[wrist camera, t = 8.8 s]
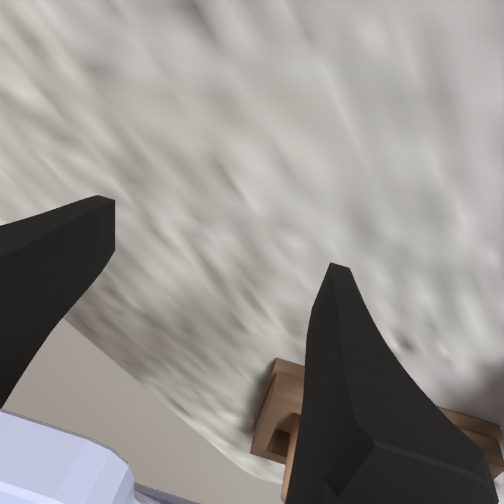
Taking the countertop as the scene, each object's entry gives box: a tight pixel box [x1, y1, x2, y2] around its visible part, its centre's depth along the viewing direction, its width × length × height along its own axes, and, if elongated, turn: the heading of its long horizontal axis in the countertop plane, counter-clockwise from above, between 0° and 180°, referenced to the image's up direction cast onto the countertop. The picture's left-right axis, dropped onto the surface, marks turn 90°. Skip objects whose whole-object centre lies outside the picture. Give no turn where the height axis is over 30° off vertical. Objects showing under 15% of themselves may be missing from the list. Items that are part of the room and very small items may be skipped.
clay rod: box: [281, 413, 301, 504], centre depth 28 cm, size 3×3×6 cm
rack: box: [250, 358, 504, 480], centre depth 30 cm, size 16×8×3 cm, turn 78°
